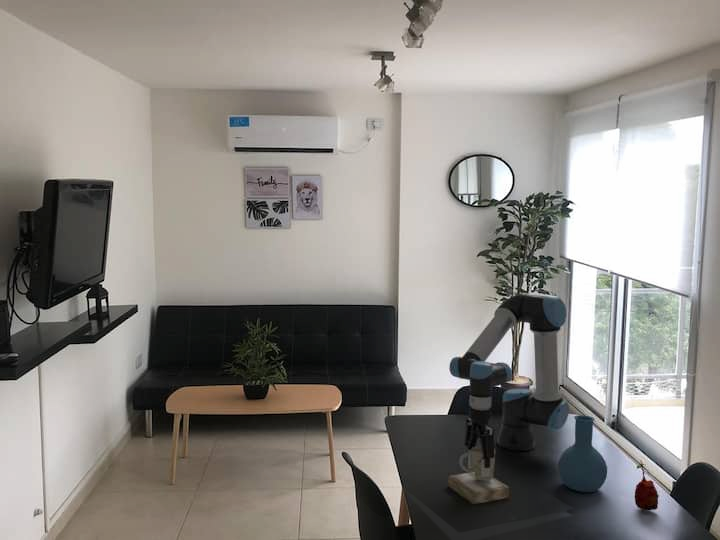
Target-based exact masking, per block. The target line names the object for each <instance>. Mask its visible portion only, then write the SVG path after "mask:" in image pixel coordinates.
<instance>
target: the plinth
mask: <svg viewBox="0 0 720 540" xmlns="http://www.w3.org/2000/svg"><path fill="white" fill-rule="evenodd" d="M448 487H449V488H450V489H452V491H455V492H456V493H457V494H459V495H460V496H461V497H463V498H464V499H466V501H468V502H470V503H471V504H472V505H476V504H482V503H488V502H492V501H498V500H502V499H503V500H504V499H509V498H510V497H509V496H510V495H509V494H510V491H509V489H510V487H509V486H508V485H507V484H505V483H503V482H501V481H500V480H498V479H496V478H495V477H493V479H491V480H486V481H484V480H478V479H476V478H475V472H465V473H459V474H452V475H449V476H448Z"/></svg>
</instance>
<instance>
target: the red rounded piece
mask: <svg viewBox="0 0 720 540" xmlns="http://www.w3.org/2000/svg"><path fill="white" fill-rule="evenodd" d="M646 465H647V463H645V464H643V462H642V461H640V463H639V464H638V465H636V469H640V468H641V471H642V479H641V481H638V483H637V484H636V486H635V490H634V503H635V505H636V507H637V508H638V509H640V510H641V511H654V510H655V511H656V510H657V509H658V505H659V497H660V496H659V493H658V490H657V488H656V487H655V484H654V481H653V480H651V479H649V480H647V479H646V476H645V474H646V473H645V471H644V466H646Z"/></svg>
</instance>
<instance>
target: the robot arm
mask: <svg viewBox="0 0 720 540" xmlns="http://www.w3.org/2000/svg"><path fill="white" fill-rule="evenodd" d="M566 307H567V306H566V305H565V302H564V301H563V300H562V298H561V297H559V296H556V295H551V294H543V293H542V294H541V293H529V292H521V293H518V294H515V295H513V296H510V297H509V298H507V299H506V300H504V301H502V303H501V304H500V305H499V306H498V307H496V309H495V311H494V315H493V317H492V319H491V320H490V321H489V323H488V324H486V326H485V328H484V329H483V330H482V331H481V333H480V334H479V335H478V336H477V338H476V339H475V340H474V342H472V344H471V346H469V348H468V349H467V350H466V352H465V353H464V355H462V356H455V357H453V358H452V359H451V360H450V362H449V368H448V369H449V373H450V374H451V376H452V377H455V378H458V379H460V380H467V381H469V404H468V405H469V407H468V417H469V418H466V419H465V423H466V424H465V425H466V428H465V434H464V435H465V437H464V446H465V447H467V451H468V452H467V453H471V448H472V447H475V446H477V441H478V439H479V440H480V446H482V452H483V457H482V469H481V477H487V476H489V468H490V458H494V457H495V458H496V454H495V455H494V448H495V442H494V440H495V439H494V437H495V436H494V435H495V429H494V428H490V425H489V421H491V419H492V404H493V403H492V399H493V397H492V393H493V392H492V391H493V390H492V389H493V388H494V387H495V388H496V387H498V386H502V385H504V384H506V383H508V382H509V381H510V380H511V379H512V377H513V371H512V369H511V367H510V365H509V364H508V363H506V362H503V361H502V362H501V361H500V362H496V363H493V362H489V361H487V359H488V358H489V356H490V355H492V353H493V352H494V350H495V349H496V348H497V346H498V345H499V344H500V342H501V341H502V339H504V338H505V335H506V334H508V331H510V329H512V328H515V326H516V325H517V324H519V323H526V324H529V330H530V331H531V333H533V343H534V345H533V346H534V369H535V371H534V372H535V375H534V376H535V390H534V391H533V390H532V389H530V388H529V389H528V388H512V389H507V390H505V391H504V393H503V394H502V413H501V414H502V416H501V417H502V424H501V427H500V431H499V434H498V436H497V445H498V446H499V447H500V448H503V449H506V450H510V451H517V452H518V451H519V452H520V451H522V452H523V451H530V450H532V449H534V448H535V447H536V446H535V445H536V444H535V443H536V441H535V437H534V434H533V431H532V430H533V429H532V425H533V426H538V427H542V428H546V429H548V430H555V431H556V430H557V431H559V430H561V429H562V428H563V427H564V425H565V424H566V422H567V420H568V417H569V411H570V406H569V403H568V402H567V401H565V400H564V398H563V395H564V394H563V393H562V392H560V390H559V370H558V369H559V366H558V365H559V364H558V339H557V337H558V335H557V334H558V333H559V332H560V331H561V327H563V326H564V325H565V323H566V318H567V309H566ZM467 465H468V467H467V469H468V470H473V469H474V466H473V459H472V457H468V463H467Z"/></svg>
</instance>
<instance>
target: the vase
mask: <svg viewBox="0 0 720 540" xmlns="http://www.w3.org/2000/svg"><path fill="white" fill-rule="evenodd" d="M573 418H574V421H575V424H574V425H575V426H574V443H573V444H572V445H571V446H569V447H567V448H566V449H565V450H564V451H563V452H562V453H561V455H560V457H559V460H558V462H557V469H558V474H559V476H560V478H561V480H562V482H563V484H564V485H565V486H567V488H569V489H571V490H572V491H575V492H580V493H593V492H596V491H598V490H600V489H601V488H602V486H603V485H604V483H605V482H606V479H607V476H608V466H607V463H606V460H605V459H604V456H603V455H602V454H601V453H600V452H599V451H598V449H596V448H595V447H593V444H592V443H593V433H594V431H593V429H594V428H593V427H594V421H595V419H596V418H594V417H593V416H590V415H583V414H581V415H579V414H578V415H575V416H573Z"/></svg>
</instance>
